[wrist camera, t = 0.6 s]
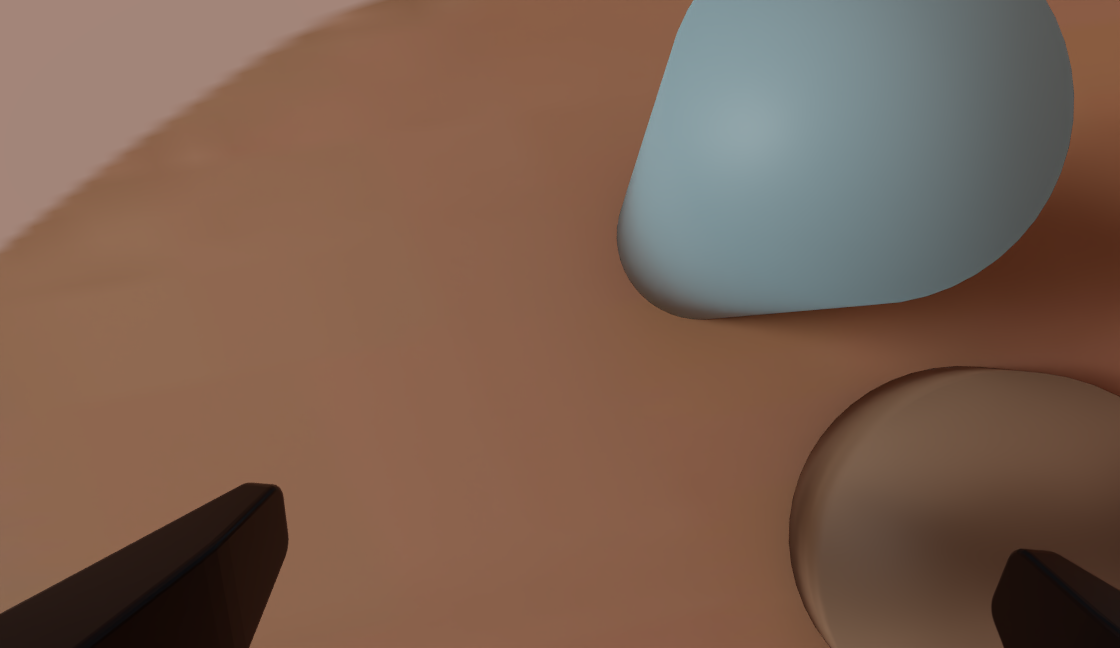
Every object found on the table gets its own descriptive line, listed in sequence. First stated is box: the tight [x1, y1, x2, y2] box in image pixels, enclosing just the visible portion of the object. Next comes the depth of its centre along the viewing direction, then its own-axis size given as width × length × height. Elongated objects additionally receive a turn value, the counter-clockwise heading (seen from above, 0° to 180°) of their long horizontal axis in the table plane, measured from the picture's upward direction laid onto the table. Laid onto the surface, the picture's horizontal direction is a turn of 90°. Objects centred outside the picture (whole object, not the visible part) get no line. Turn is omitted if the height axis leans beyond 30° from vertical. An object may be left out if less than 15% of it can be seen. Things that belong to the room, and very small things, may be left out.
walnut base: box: [789, 366, 1120, 648], centre depth 20 cm, size 11×11×3 cm
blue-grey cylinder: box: [617, 0, 1074, 319], centre depth 16 cm, size 6×6×13 cm
